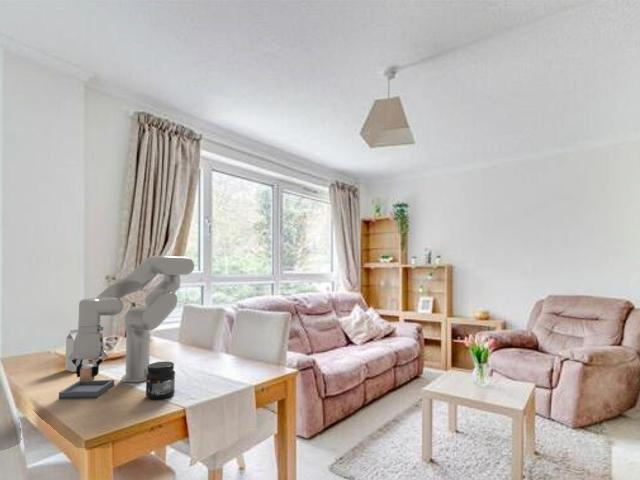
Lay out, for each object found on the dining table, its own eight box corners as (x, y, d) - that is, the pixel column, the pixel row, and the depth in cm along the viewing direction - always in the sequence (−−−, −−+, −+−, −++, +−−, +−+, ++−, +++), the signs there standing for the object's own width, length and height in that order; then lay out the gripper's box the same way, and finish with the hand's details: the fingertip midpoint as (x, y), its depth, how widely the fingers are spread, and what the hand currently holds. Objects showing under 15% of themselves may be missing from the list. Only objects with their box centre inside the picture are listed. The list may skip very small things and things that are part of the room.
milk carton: (88, 368, 184) (89, 328, 184) (72, 372, 178) (73, 331, 178) (81, 366, 187) (82, 327, 188) (65, 370, 181) (66, 329, 182)
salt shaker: (96, 377, 155) (97, 364, 155) (90, 381, 150) (90, 367, 150) (83, 378, 154) (84, 364, 155) (77, 382, 149) (77, 367, 150)
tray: (114, 385, 160) (114, 379, 160) (97, 398, 146) (97, 391, 146) (79, 386, 159) (79, 380, 159) (58, 399, 145) (58, 392, 145)
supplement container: (153, 390, 154) (153, 360, 155) (179, 391, 154) (179, 361, 154) (140, 400, 144) (140, 368, 144) (167, 401, 143) (168, 368, 144)
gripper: (115, 328, 158) (113, 373, 157) (72, 328, 156) (70, 373, 155) (106, 331, 150) (105, 378, 149) (61, 331, 149) (59, 379, 148)
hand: (87, 375), depth 152 cm, fingers closed on salt shaker, 5 cm apart
